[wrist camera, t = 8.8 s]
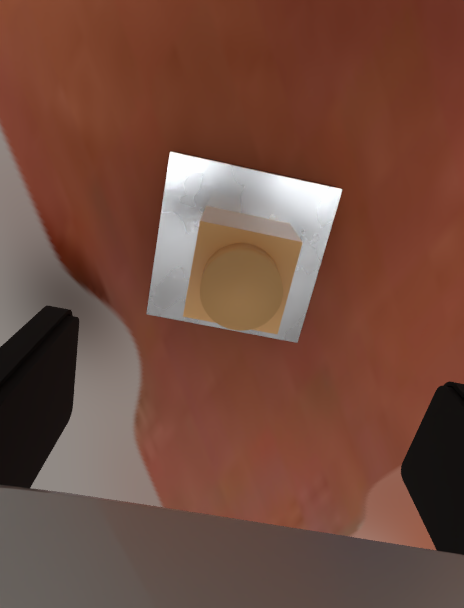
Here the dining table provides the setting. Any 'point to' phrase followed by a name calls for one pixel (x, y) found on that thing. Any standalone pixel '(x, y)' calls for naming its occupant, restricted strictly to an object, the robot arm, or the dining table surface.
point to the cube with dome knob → (241, 270)
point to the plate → (244, 199)
